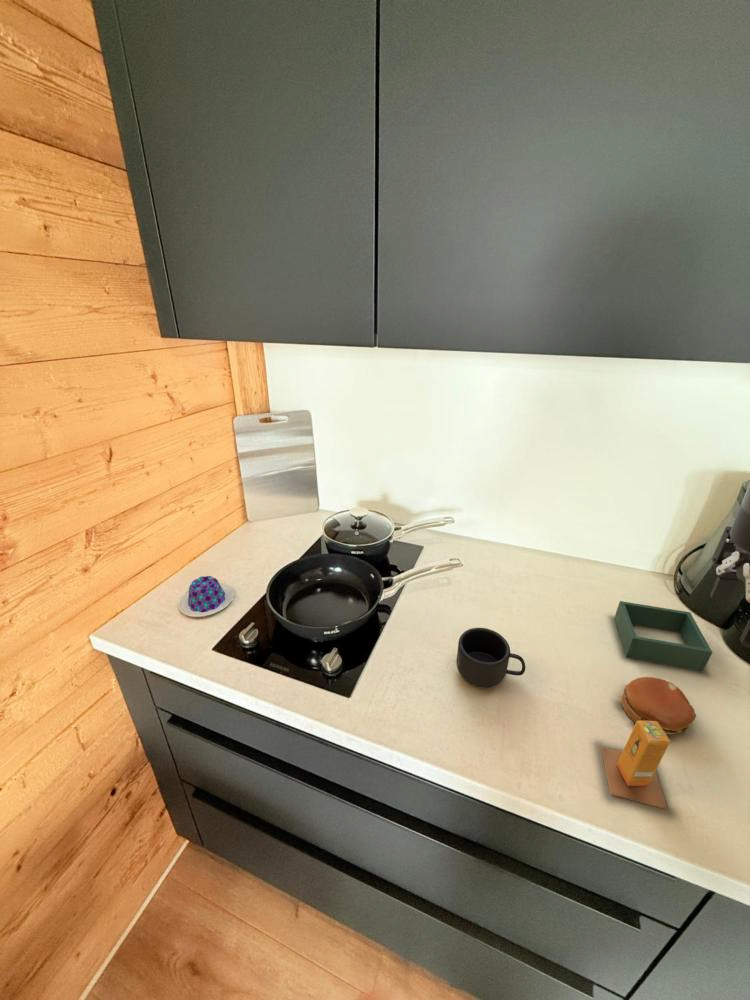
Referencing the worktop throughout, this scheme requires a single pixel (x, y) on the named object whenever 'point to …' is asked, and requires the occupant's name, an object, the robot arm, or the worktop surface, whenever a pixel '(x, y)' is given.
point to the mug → (484, 658)
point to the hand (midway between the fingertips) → (733, 621)
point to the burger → (658, 704)
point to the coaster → (635, 793)
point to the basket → (659, 651)
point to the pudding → (205, 597)
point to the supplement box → (642, 753)
